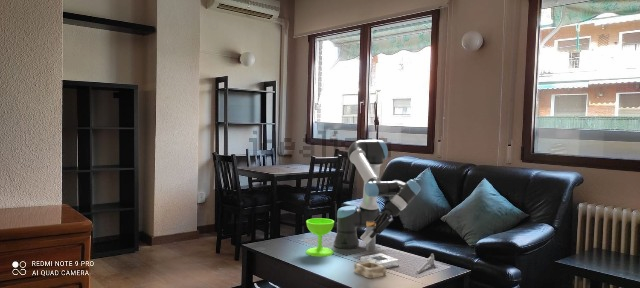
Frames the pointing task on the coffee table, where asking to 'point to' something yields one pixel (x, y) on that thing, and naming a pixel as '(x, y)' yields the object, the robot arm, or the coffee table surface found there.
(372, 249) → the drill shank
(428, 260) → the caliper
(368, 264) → the tan open tray
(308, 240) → the coffee table surface
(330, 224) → the wineglass
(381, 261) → the socket block
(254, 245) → the coffee table surface
